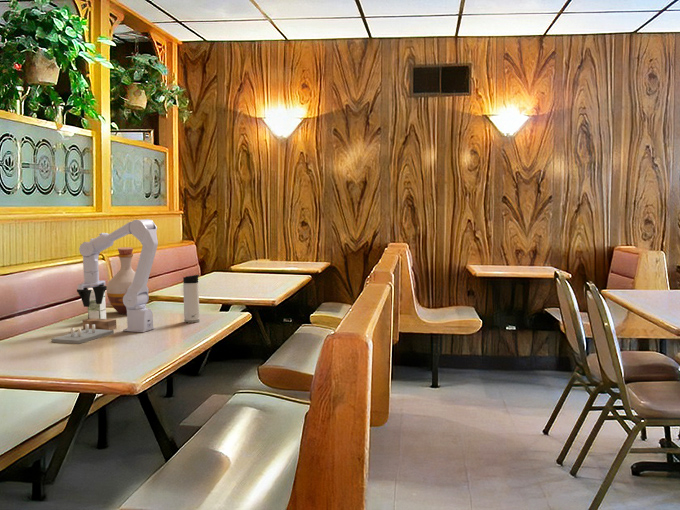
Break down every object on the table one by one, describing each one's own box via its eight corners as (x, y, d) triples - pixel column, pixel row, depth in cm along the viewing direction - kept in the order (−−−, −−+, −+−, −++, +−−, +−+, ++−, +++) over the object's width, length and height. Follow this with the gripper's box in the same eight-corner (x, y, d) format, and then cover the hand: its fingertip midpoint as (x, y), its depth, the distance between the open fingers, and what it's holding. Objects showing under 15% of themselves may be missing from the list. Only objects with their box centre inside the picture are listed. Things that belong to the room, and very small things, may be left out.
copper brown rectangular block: (116, 329, 269) (116, 319, 269) (108, 331, 265) (108, 321, 264) (91, 328, 273) (90, 318, 273) (83, 330, 268) (82, 320, 268)
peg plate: (113, 333, 260) (113, 322, 259) (78, 343, 241) (78, 332, 240) (87, 331, 263) (87, 321, 263) (51, 342, 244) (50, 330, 244)
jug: (105, 310, 314) (102, 247, 312) (144, 307, 322) (142, 245, 319) (109, 317, 296) (106, 249, 294) (150, 314, 304) (148, 248, 301)
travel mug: (196, 323, 279) (195, 275, 278) (181, 322, 280) (180, 275, 279) (202, 320, 285) (201, 274, 284) (188, 320, 287) (186, 273, 285)
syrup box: (106, 320, 288) (105, 287, 287) (100, 322, 282) (99, 288, 281) (94, 320, 289) (92, 287, 288) (87, 322, 283) (86, 288, 282)
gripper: (94, 269, 277) (96, 302, 278) (70, 273, 263) (72, 307, 264) (109, 269, 274) (110, 302, 275) (85, 273, 261) (87, 308, 262)
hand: (92, 305), depth 270 cm, fingers open, 7 cm apart
